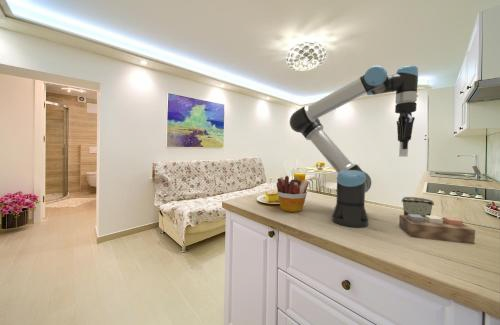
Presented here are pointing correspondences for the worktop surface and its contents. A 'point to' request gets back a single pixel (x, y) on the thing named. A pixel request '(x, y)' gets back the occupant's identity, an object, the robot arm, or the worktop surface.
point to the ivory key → (433, 219)
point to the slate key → (415, 218)
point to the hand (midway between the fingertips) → (403, 156)
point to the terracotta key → (452, 221)
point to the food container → (417, 206)
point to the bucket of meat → (291, 194)
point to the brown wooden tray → (437, 230)
